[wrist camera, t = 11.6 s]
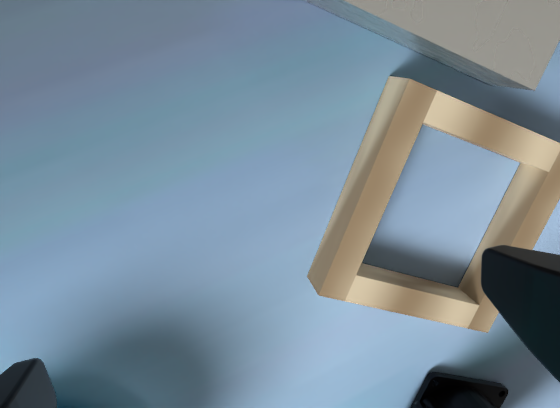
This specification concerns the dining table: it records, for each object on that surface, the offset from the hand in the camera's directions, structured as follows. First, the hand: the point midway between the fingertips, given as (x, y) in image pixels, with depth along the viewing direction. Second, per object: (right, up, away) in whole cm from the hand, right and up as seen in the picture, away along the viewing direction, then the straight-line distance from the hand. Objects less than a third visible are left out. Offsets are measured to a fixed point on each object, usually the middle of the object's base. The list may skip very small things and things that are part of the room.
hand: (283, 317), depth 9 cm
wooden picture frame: (+8, +2, +16) cm, 18 cm away
